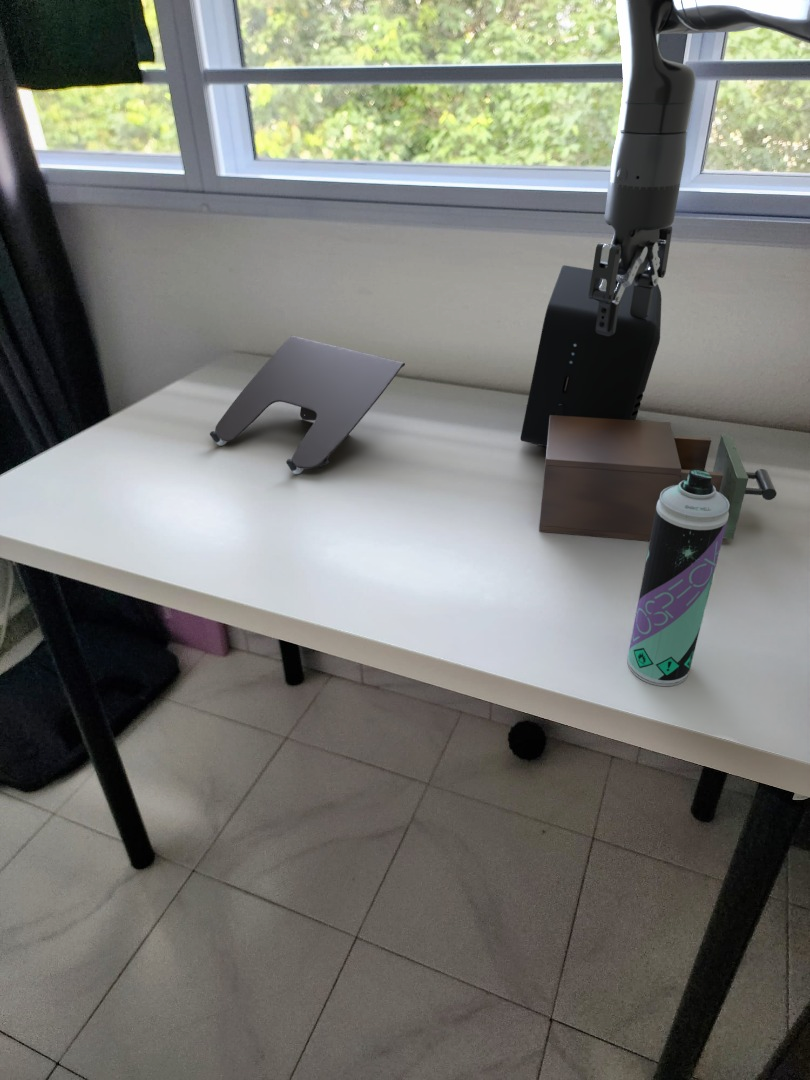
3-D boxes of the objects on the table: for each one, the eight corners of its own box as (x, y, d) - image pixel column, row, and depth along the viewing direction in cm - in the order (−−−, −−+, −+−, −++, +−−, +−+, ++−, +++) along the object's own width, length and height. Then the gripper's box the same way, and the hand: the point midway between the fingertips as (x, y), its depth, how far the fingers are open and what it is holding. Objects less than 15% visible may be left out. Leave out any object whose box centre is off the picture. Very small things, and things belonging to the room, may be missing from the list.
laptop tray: (223, 468, 117) (193, 428, 110) (308, 367, 125) (285, 324, 118) (332, 511, 105) (307, 470, 98) (418, 397, 114) (400, 351, 106)
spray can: (614, 656, 70) (649, 465, 59) (660, 639, 72) (702, 452, 61) (654, 693, 66) (698, 495, 55) (702, 675, 68) (753, 480, 57)
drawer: (753, 494, 94) (769, 437, 90) (772, 542, 85) (790, 481, 80) (608, 483, 97) (616, 427, 93) (611, 528, 88) (620, 469, 83)
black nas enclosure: (622, 469, 103) (665, 331, 90) (518, 447, 105) (545, 309, 93) (629, 403, 118) (666, 277, 105) (538, 385, 120) (564, 260, 108)
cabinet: (657, 490, 97) (670, 422, 92) (666, 542, 87) (681, 468, 81) (543, 482, 99) (549, 414, 94) (538, 531, 89) (545, 458, 84)
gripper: (646, 190, 75) (622, 348, 84) (705, 172, 84) (677, 317, 93) (580, 183, 79) (564, 334, 88) (643, 166, 88) (622, 305, 97)
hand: (622, 325), depth 90 cm, fingers open, 8 cm apart
